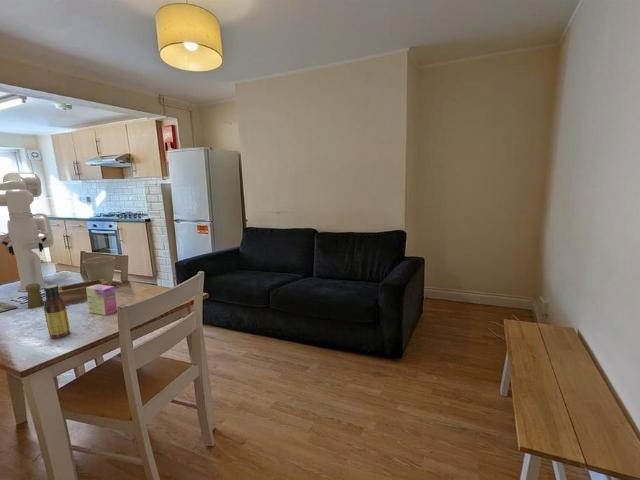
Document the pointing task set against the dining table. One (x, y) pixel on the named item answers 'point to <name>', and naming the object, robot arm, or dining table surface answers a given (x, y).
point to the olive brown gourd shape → (34, 296)
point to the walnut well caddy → (77, 291)
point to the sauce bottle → (55, 313)
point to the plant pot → (100, 268)
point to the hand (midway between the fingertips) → (27, 253)
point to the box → (101, 299)
